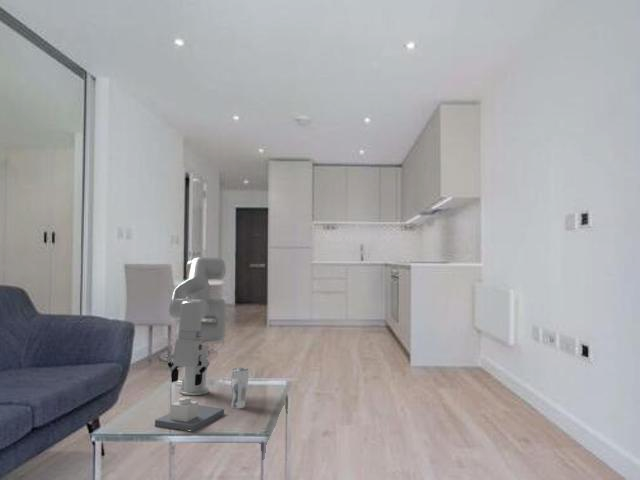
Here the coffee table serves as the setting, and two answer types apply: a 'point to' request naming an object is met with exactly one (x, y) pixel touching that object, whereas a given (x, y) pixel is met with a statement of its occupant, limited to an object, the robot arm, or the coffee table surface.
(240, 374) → the beer glass
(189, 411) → the knob
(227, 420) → the coffee table surface
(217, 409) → the flat gray board
